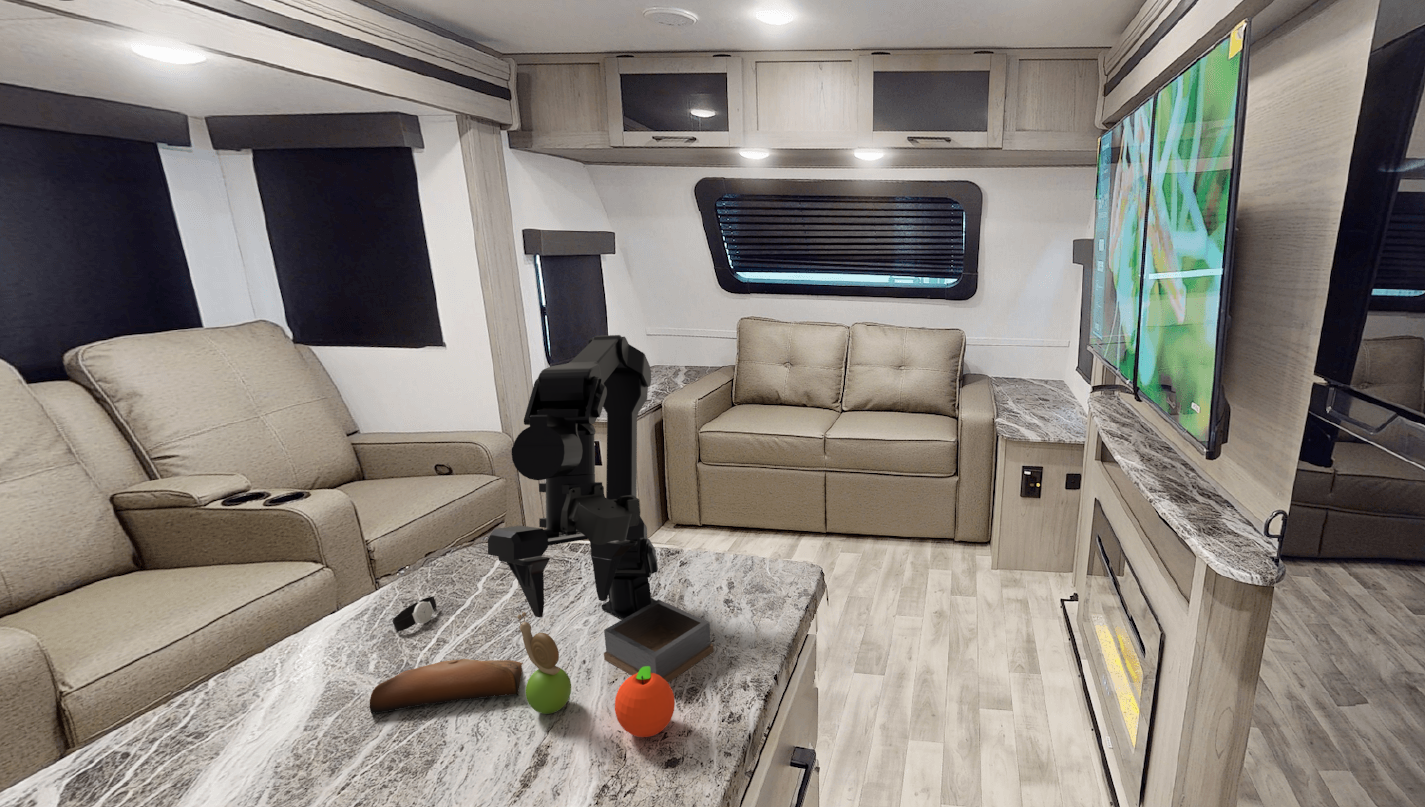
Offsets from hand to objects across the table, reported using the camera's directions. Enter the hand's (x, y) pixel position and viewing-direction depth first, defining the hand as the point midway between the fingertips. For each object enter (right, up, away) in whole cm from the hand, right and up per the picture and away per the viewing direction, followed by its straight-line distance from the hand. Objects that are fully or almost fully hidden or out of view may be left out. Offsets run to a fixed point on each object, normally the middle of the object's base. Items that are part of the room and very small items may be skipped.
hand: (572, 608), depth 81 cm
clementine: (+9, -14, 0) cm, 17 cm away
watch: (-30, -10, +27) cm, 41 cm away
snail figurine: (-4, -14, +5) cm, 15 cm away
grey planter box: (+9, -11, +14) cm, 20 cm away
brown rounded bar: (-18, -14, +10) cm, 24 cm away
